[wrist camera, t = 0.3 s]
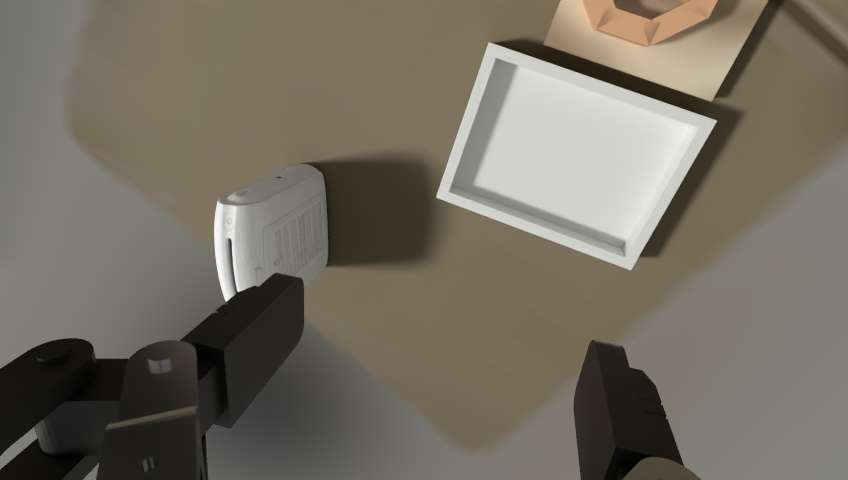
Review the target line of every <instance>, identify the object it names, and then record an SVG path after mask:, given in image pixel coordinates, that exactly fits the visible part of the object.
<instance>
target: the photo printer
mask: <svg viewBox="0 0 848 480" xmlns="http://www.w3.org/2000/svg"><path fill="white" fill-rule="evenodd" d="M214 240H215V255H216V263H217V269H218V275H219V280H220V284H221V288H222V291H223V295H224V298H225V300H226V302H227V301H228V300H229V299H230V298H231V297H233V296H234V295H235V294H236V293H238V292H240V291H243V290H245V289H247V288H250V287H252V286H260V285H261V284H262V283H263V282H265V281H266V280H267V279H268V278H269V277H270V276H271V275H273V274H274V273H281V274H285V275H290V276H295V277H300V278H302V280H303V282H304V288H305V287H306V286H307V285H308V284H309V283H310V282H311V281H312V280H313V279H314V278H315V277H316V276H317V275H318V274H319V273H320V272H321V271H322V270H323V269H324V268H325V267H326V264H327V260H328V225H327V205H326V191H325V182H324V177H323V174H322V172H319V171H318V170H317V169H316V168H315V167H313V166H311V165H308V164H297V165H295V166H292V167H290V168H288V169H283V170H280V171H278V172H275V173H273V174H271V175H269V176H266V177H264V178H262V179H260V180H257V181H255V182H253V183H250V184H248V185H246V186H244V187H241V188H239V189H237V190H235V191H232V192H230V193H228V194H226V195H224V196H222V197H221V198H220V199H219V200H218V203H217V207H216V213H215V226H214Z"/></svg>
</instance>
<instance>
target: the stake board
mask: <svg viewBox="0 0 848 480" xmlns="http://www.w3.org/2000/svg"><path fill="white" fill-rule="evenodd" d="M613 2H614V5H615V7H616V8H617V9H620V10H623V11H626V12H629V13H632V14H635V15H638V16H641V17H644V18H647V19H652V18H654V17H656V16H658V15H660V14H662V13H664V12H666V11H668V10H670V9H672V8H674V7H676V6H678V5H679V4H681V3H682V2H683V0H613ZM767 2H768V0H718V1H717V3H716V5H715V7H714V9H713V11H712V12H711V14H710V16H709V18H707V19H705V20H703V21H701V22H699V23H697V24H695V25H693V26H691V27H689V28H686V29H684V30H682V31H680V32H678V33H676V34H674V35H672V36H670V37H668V38H666V39H664V40H662V41H660V42H658V43H655V44H653V45H651V46H649V47H642V46H639V45H636V44H633V43H630V42H627V41H624V40H621V39H618V38H615V37H612V36H609V35H606V34H603V33H600V32H597V31H594V30H593V29H592V26H591V23H590V20H589V18H588V15H587V12H586V10H585V7H584V4H583V2H582V0H560V3H559V6H558V8H557V11H556V13H555V16H554V18H553V21H552V24H551V26H550V29H549V31H548V34H547V36H546V39H545V42H544V44H543V45H546V46H548V47H551V48H554V49H557V50H560V51H563V52H566V53H569V54H572V55H575V56H578V57H581V58H584V59H587V60H589V61H592V62H595V63H598V64H601V65H604V66H607V67H610V68H613V69H616V70H619V71H622V72H625V73H627V74H630V75H633V76H636V77H639V78H642V79H645V80H648V81H651V82H654V83H657V84H660V85H663V86H666V87H668V88H671V89H674V90H677V91H680V92H683V93H686V94H689V95H692V96H695V97H698V98H701V99H704V100H707V101H711V102H712V100H713V98H714V96H715V94H716V93H717V91H718V89H719V87H720V86H721V84H722V82H723V80H724V78H725V77H726V75H727V73H728V71H729V70H730V68H731V66H732V64H733V62H734V61H735V59H736V57H737V55H738V54H739V52H740V50H741V48H742V46H743V45H744V43H745V41H746V39H747V38H748V36H749V34H750V32H751V30H752V29H753V27H754V25H755V23H756V22H757V20H758V18H759V16H760V14H761V13H762V11H763V9H764V7H765V6H766V4H767Z"/></svg>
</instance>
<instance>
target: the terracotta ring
mask: <svg viewBox="0 0 848 480" xmlns="http://www.w3.org/2000/svg"><path fill="white" fill-rule="evenodd" d="M717 1H718V0H683V2H682V3H681V4H679V5H678V6H676V7H674V8H672V9H670V10H668V11H666V12H664V13H662V14H660V15H658V16H656V17H654V18H652V19H647V18H644V17H641V16H638V15H635V14H632V13H629V12H626V11H623V10H620V9H617V8H616V7H615V5H614V2H613V0H582V2H583V4H584V7H585V10H586V12H587V15H588V18H589V20H590V23H591V26H592V29H593V30H594V31H597V32H600V33H603V34H606V35H609V36H612V37H615V38H618V39H621V40H624V41H627V42H630V43H633V44H636V45H639V46H642V47H649V46H651V45H653V44H655V43H658V42H660V41H662V40H664V39H666V38H668V37H670V36H672V35H674V34H676V33H678V32H680V31H682V30H684V29H686V28H689V27H691V26H693V25H695V24H697V23H699V22H701V21H703V20H705V19H707V18H709V16H710V14H711V12H712V11H713V9H714V7H715V5H716V3H717Z"/></svg>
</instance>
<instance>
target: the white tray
mask: <svg viewBox="0 0 848 480" xmlns="http://www.w3.org/2000/svg"><path fill="white" fill-rule="evenodd" d="M716 122H717V121H716V120H714V119H711V118H708V117H705V116H703V115H700V114H697V113H694V112H691V111H688V110H685V109H682V108H679V107H676V106H674V105H671V104H668V103H665V102H662V101H659V100H656V99H653V98H650V97H647V96H644V95H642V94H639V93H636V92H633V91H630V90H627V89H624V88H621V87H618V86H615V85H613V84H610V83H607V82H604V81H601V80H598V79H595V78H592V77H589V76H586V75H584V74H581V73H578V72H575V71H572V70H569V69H566V68H563V67H560V66H557V65H554V64H552V63H549V62H546V61H543V60H540V59H537V58H534V57H531V56H528V55H525V54H523V53H520V52H517V51H514V50H511V49H508V48H505V47H502V46H499V45H496V44H493V43H490V42H489V44H488V47H487V49H486V52H485V55H484V58H483V61H482V64H481V67H480V70H479V73H478V76H477V79H476V82H475V85H474V88H473V90H472V93H471V96H470V99H469V102H468V105H467V108H466V111H465V114H464V117H463V120H462V123H461V126H460V129H459V132H458V134H457V137H456V140H455V143H454V146H453V149H452V152H451V155H450V158H449V161H448V164H447V167H446V170H445V173H444V175H443V178H442V181H441V184H440V187H439V190H438V193H437V196H436V198H439V199H441V200H444V201H447V202H449V203H452V204H455V205H457V206H460V207H463V208H465V209H468V210H471V211H474V212H476V213H479V214H482V215H484V216H487V217H490V218H492V219H495V220H498V221H500V222H503V223H506V224H508V225H511V226H514V227H516V228H519V229H522V230H524V231H527V232H530V233H532V234H535V235H538V236H540V237H543V238H546V239H548V240H551V241H554V242H556V243H559V244H562V245H564V246H567V247H570V248H573V249H575V250H578V251H581V252H583V253H586V254H589V255H591V256H594V257H597V258H599V259H602V260H605V261H607V262H610V263H613V264H615V265H618V266H621V267H623V268H626V269H629V270H631V269H632V267H633V266H634V264H635V262H636V261H637V259H638V257H639V255H640V254H641V252H642V250H643V248H644V247H645V245H646V243H647V242H648V240H649V238H650V236H651V235H652V233H653V231H654V229H655V228H656V226H657V224H658V222H659V221H660V219H661V217H662V216H663V214H664V212H665V210H666V209H667V207H668V205H669V203H670V202H671V200H672V198H673V196H674V195H675V193H676V191H677V190H678V188H679V186H680V184H681V183H682V181H683V179H684V177H685V176H686V174H687V172H688V171H689V169H690V167H691V165H692V164H693V162H694V160H695V158H696V157H697V155H698V153H699V151H700V150H701V148H702V146H703V145H704V143H705V141H706V139H707V138H708V136H709V134H710V132H711V131H712V129H713V127H714V125H715V124H716Z"/></svg>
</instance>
